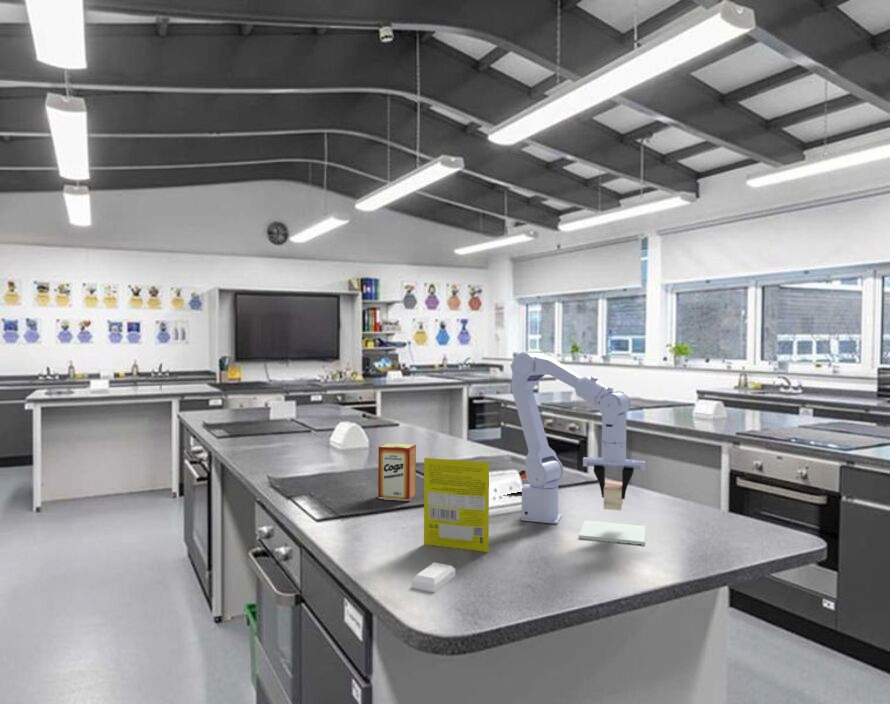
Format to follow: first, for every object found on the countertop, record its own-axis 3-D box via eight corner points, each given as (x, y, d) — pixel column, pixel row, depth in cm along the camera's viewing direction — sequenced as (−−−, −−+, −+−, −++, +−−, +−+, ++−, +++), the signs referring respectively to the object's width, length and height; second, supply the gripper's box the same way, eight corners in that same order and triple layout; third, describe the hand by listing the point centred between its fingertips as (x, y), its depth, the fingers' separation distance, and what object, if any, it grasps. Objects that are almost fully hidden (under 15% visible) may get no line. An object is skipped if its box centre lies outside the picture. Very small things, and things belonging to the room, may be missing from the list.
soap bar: (411, 589, 118) (411, 575, 118) (433, 573, 127) (433, 560, 127) (434, 594, 116) (434, 580, 116) (455, 578, 124) (455, 564, 124)
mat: (578, 538, 149) (578, 535, 149) (584, 523, 161) (584, 520, 161) (644, 545, 144) (644, 541, 144) (645, 529, 156) (645, 526, 156)
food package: (489, 551, 139) (489, 462, 139) (487, 553, 138) (488, 462, 138) (424, 543, 144) (425, 457, 144) (423, 545, 143) (423, 458, 143)
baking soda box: (378, 499, 184) (378, 445, 183) (385, 494, 190) (385, 442, 190) (409, 502, 181) (409, 447, 181) (415, 496, 188) (415, 443, 187)
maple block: (606, 500, 157) (606, 480, 157) (622, 502, 155) (622, 482, 155) (603, 508, 149) (603, 488, 149) (621, 510, 148) (621, 489, 148)
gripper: (581, 442, 150) (581, 498, 151) (645, 446, 146) (644, 504, 146) (584, 438, 157) (584, 492, 157) (645, 441, 153) (644, 496, 153)
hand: (613, 497), depth 152 cm, fingers closed on maple block, 4 cm apart
